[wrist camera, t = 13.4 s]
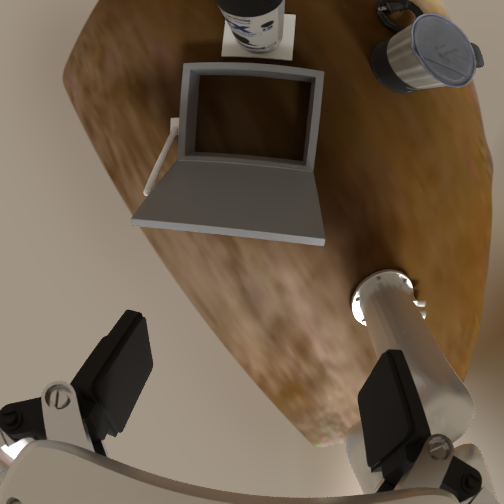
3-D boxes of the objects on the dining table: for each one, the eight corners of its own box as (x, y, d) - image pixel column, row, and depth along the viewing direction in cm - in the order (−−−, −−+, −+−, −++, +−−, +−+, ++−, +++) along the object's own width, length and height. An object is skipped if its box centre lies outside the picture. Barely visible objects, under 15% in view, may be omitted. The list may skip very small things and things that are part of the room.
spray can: (226, 38, 30) (183, -22, 13) (257, 9, 28) (240, -66, 10) (261, 63, 32) (247, 10, 14) (293, 33, 29) (305, -35, 12)
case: (318, 77, 33) (351, 43, 16) (304, 194, 41) (323, 247, 24) (185, 69, 33) (123, 40, 17) (179, 182, 42) (120, 225, 25)
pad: (295, 16, 28) (295, 15, 28) (291, 61, 32) (292, 60, 31) (227, 12, 29) (226, 11, 28) (222, 57, 32) (221, 56, 32)
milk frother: (390, 103, 33) (441, 99, 20) (331, 18, 28) (355, -24, 15) (449, 73, 29) (506, 67, 15) (397, -5, 24) (437, -39, 10)
